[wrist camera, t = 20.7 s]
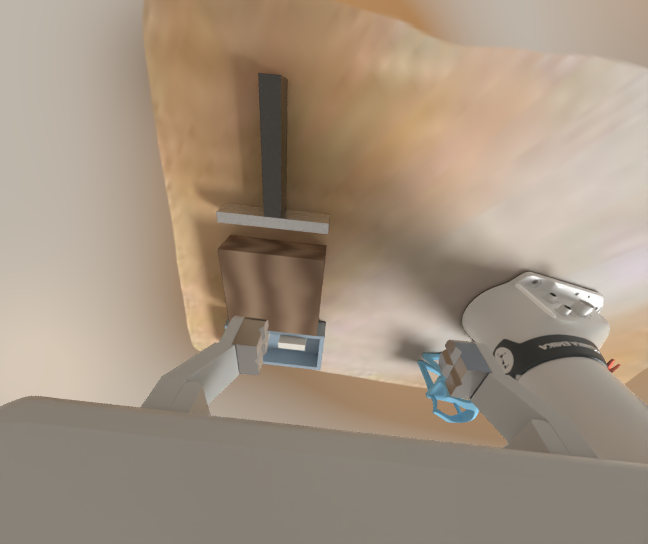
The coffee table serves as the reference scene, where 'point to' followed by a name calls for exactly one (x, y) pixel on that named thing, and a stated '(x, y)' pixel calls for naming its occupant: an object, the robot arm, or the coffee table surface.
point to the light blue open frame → (444, 392)
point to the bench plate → (273, 282)
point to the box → (295, 357)
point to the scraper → (273, 170)
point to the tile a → (292, 342)
